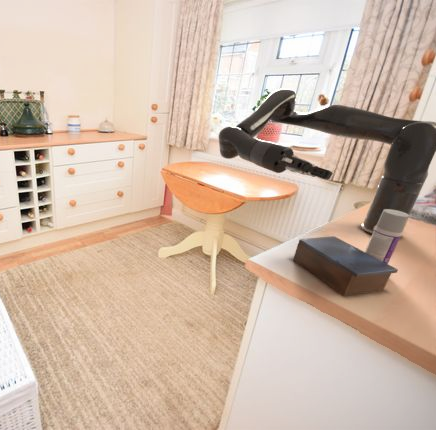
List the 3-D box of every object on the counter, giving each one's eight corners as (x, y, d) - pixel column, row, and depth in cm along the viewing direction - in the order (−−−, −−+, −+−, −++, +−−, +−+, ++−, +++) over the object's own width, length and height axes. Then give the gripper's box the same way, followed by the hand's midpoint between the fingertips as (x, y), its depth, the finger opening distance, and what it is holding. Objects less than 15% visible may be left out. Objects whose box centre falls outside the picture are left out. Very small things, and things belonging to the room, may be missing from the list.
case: (383, 290, 64) (392, 270, 61) (343, 295, 62) (352, 275, 60) (327, 256, 76) (333, 239, 74) (292, 259, 74) (298, 242, 72)
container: (374, 264, 74) (399, 209, 68) (388, 275, 69) (416, 217, 63) (355, 262, 74) (377, 208, 68) (367, 273, 70) (393, 216, 64)
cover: (396, 272, 61) (398, 269, 60) (356, 277, 59) (357, 274, 58) (333, 238, 74) (334, 236, 74) (298, 241, 72) (299, 238, 72)
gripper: (276, 173, 90) (332, 194, 76) (251, 162, 83) (308, 183, 70) (289, 150, 88) (349, 168, 74) (264, 137, 81) (326, 154, 67)
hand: (329, 175), depth 72 cm, fingers closed
